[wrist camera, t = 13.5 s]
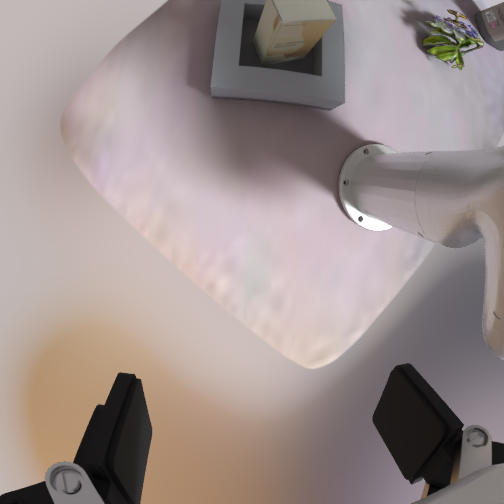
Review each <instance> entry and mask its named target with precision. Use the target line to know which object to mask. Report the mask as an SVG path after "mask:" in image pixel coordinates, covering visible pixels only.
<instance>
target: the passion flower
mask: <svg viewBox="0 0 504 504" xmlns="http://www.w3.org/2000/svg"><path fill="white" fill-rule="evenodd" d="M447 11H448V12H450V13H451V14H453V15H455V17H456V19H455V20H452V19H451V18H447V19H445V18H443V17H440V16H437V15H436V18H434V17H432V18H434V22H430V21H426V23H427V24H428V25H430V26H432V27H433V28H435V30H432V31H431V32H430V34H441V35H437V36H430V37H428V38H426V39H424V40H423V45H422V46H426V45H428V46H434V45H440V44H447V45H443V46H439V47H433V48H431V49H428V50H427V52H428V53H430V54H431V55H434V56H436V58H438V59H440V60H443V61H451V60H453V59H454V58H455V59H454V60H453V61H452V62H454V61H456V63H457V65H454V66H452V68H457V67H458V68H459V69H460V70H461V69H462V68H463V66H464V61H463V57H462V56H463V55H464V54H465V53H468V52H470V51H473V50H475V49H479V48H481V47H483V44H484V42H481V39H480V38H477V37H478V33H476V30H474V28H471V27H470V26H471V25H466V24H465V23H463V22H458V17H462V18H465V19H467V20H468V18H467V17H466V16H464V15H462V14H460V13H459V12H456V11H453V10H447ZM442 35H446V36H449V37H451V38H453V39H454V40H455V41H456V42H457V44H456V43H455V42H452V41H450V39H448V38H447V37H445V36H442ZM465 38H466V39H465ZM460 41H462V42H460ZM474 43H475V44H477V47H476V48H473V49H470V50H467V51H461V50H460V49H461V48H464V47H465V48H467V47H469V45H474ZM452 62H451V63H452Z"/></svg>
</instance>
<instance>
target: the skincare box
mask: <svg viewBox="0 0 504 504" xmlns="http://www.w3.org/2000/svg"><path fill="white" fill-rule="evenodd" d="M336 20H337V18H336V16H335V14H334V11H333V9H332V7H331V5H330V3H329V1H328V0H266V3H265V6H264V9H263V12H262V15H261V18H260V21H259V24H258V27H257V30H256V33H255V36H254V39H253V43H254V46H255V49H256V52H257V54H258V57H259V60H260V62H261V64H262V65H269V64H276V63H282V62H288V61H294V60H299V59H304V58H305V57H306V55H307V54H308V53H309V52H310V50H311V49H312V48H313V47H314V45H315V44H316V43H317V42H318V41H319V39H320V38H321V37H322V36H323V35H324V34H325V32H326V31H327V30H328V29H329V28H330V27H331V25H332V24H333V23H334V22H335V21H336Z"/></svg>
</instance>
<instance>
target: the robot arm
mask: <svg viewBox="0 0 504 504" xmlns="http://www.w3.org/2000/svg"><path fill="white" fill-rule="evenodd" d="M364 151H365V153H364ZM344 181H345V184H344V183H343V182H344ZM338 186H339V196H340V201H341V203H342V206H343V208H344V210H345V212H346V213H347V215H348V216H349V217H350V218H351V219H352V220H353V221H354V222H355V223H356V224H358V225H359V226H361V227H363V228H366V229H369V230H374V231H381V230H386V229H389V228H391V227H395V228H398V229H401V230H403V231H406V232H409V233H411V234H414V235H417V236H419V237H422V238H424V239H427V240H430V241H432V242H435V243H438V244H440V245H443V246H446V247H449V248H463V247H466V246H469V245H471V244H473V243H475V242H477V241H478V240H479V239H481V238H482V237H483V239H484V243H485V263H486V276H485V294H484V309H483V334H484V338H485V341H486V344H487V346H488V347H489V349H490V350H491V351H492V353H493V354H495V355H496V356H497V357H499V358H500V359H502V360H504V146H502V147H496V148H490V149H482V150H470V151H432V152H408V153H398V152H397V151H395V150H394V149H392V148H390V147H388V146H385V145H382V144H369V145H365V146H362V147H360V148H358V149H356V150H355V151H354V152H353V153H351V154H350V155H349V157H348V158H347V159H346V161H345V163H344V164H343V166H342V169H341V172H340V175H339V183H338ZM358 217H359V219H358ZM373 423H374V425H375V427H376V428H377V430H378V432H379V434H380V435H381V437H382V439H383V441H384V442H385V444H386V446H387V448H388V449H389V451H390V453H391V455H392V456H393V458H394V460H395V462H396V464H397V465H398V467H399V469H400V471H401V472H402V474H403V476H404V478H405V479H407V480H409V481H410V483H411V484H414V483H416V482H418V481H421V480H422V479H423V478H424V480H425V481H426V482H425V486H424V490H423V493H422V497H421V499H420V500H418V501H416V502H414V503H412V504H504V444H503V443H498V442H493V441H491V436H490V434H489V432H488V431H487V430H486V429H485V428H483V427H481V426H478V425H471V426H468V427H467V428H466V429H465V430H464V431H463V430H462V427H463V426H464V424H463V423H462V422H461V421H460V419H459V418H458V417H457V416H456V415H455V414H454V412H453V411H452V410H451V409H450V408H449V407H448V406H447V404H446V403H445V402H444V401H443V400H442V399H441V398H440V396H439V395H438V394H437V393H436V392H435V391H434V389H433V388H432V387H431V386H430V385H429V384H428V383H427V382H426V380H425V379H424V378H423V377H422V376H421V375H420V374H419V373H418V372H417V371H416V369H415V368H414V367H413V366H412V365H411V364H409V363H407V364H402V365H397V366H396V367H395V368H394V370H392V371H391V373H390V376H389V378H388V381H387V384H386V386H385V389H384V391H383V394H382V396H381V398H380V401H379V403H378V405H377V407H376V410H375V412H374V414H373ZM151 438H152V426H151V422H150V418H149V414H148V409H147V405H146V401H145V397H144V392H143V387H142V383H141V379H137V378H136V376H135V374H128V373H118V375H117V377H116V379H115V382H114V384H113V386H112V389H111V391H110V393H109V396H108V398H107V400H106V403H105V405H100V404H99V405H97V406H96V408H95V410H94V412H93V415H92V417H91V419H90V422H89V424H88V426H87V429H86V431H85V434H84V436H83V439H82V441H81V444H80V446H79V449H78V451H77V454H76V456H75V459H74V462H73V463H71V462H65V461H64V462H58V463H56V464H54V465H52V466H51V467H50V468H49V469H48V470H47V473H46V475H45V481H43V482H41V483H38V484H35V485H32V486H29V487H25V488H22V489H19V490H15V491H12V492H8V493H5V494H3V495H1V496H0V504H140V501H141V495H142V488H143V482H144V475H145V470H146V465H147V459H148V453H149V448H150V443H151Z"/></svg>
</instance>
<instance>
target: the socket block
mask: <svg viewBox="0 0 504 504" xmlns="http://www.w3.org/2000/svg"><path fill="white" fill-rule="evenodd" d="M265 3H266V0H221V4H220V10H219V17H218V25H217V32H216V40H215V49H214V57H213V66H212V76H211V86H210V88H211V96H212V98H224V99H242V100H255V101H266V102H275V103H284V104H292V105H299V106H306V107H312V108H319V109H324V110H332V109H334V108H336V107H338V106H340V105H342V104H343V103H345V60H344V31H343V14H342V5H340V4H337V3H333V2H329V3H330V5H331V7H332V9H333V11H334V14H335V16H336V18H337V20H336V21H335V22H334V23H333V24H332V25H331V27H330V28H329V29H328V30H327V31H326V32H325V34H324V35H323V36H322V37H321V38H320V39H319V41H318V42H317V43H316V44H315V45H314V47H313V48H312V49H311V50H310V52H309V53H308V54H307V55H306V57H305V58H304V59H299V60H294V61H288V62H282V63H276V64H269V65H262V64H261V62H260V60H259V57H258V54H257V52H256V49H255V46H254V43H253V39H254V36H255V33H256V30H257V27H258V24H259V21H260V18H261V15H262V12H263V9H264V6H265Z"/></svg>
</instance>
